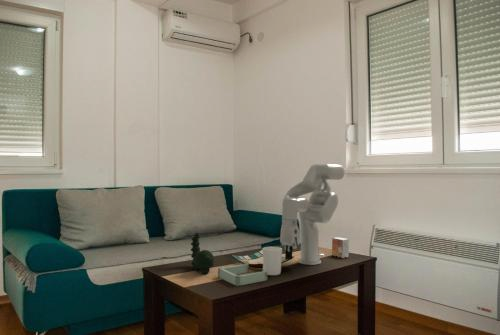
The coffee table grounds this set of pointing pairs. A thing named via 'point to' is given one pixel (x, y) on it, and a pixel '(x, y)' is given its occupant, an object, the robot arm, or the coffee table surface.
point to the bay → (232, 277)
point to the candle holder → (272, 260)
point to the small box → (340, 247)
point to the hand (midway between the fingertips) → (288, 259)
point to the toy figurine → (201, 256)
